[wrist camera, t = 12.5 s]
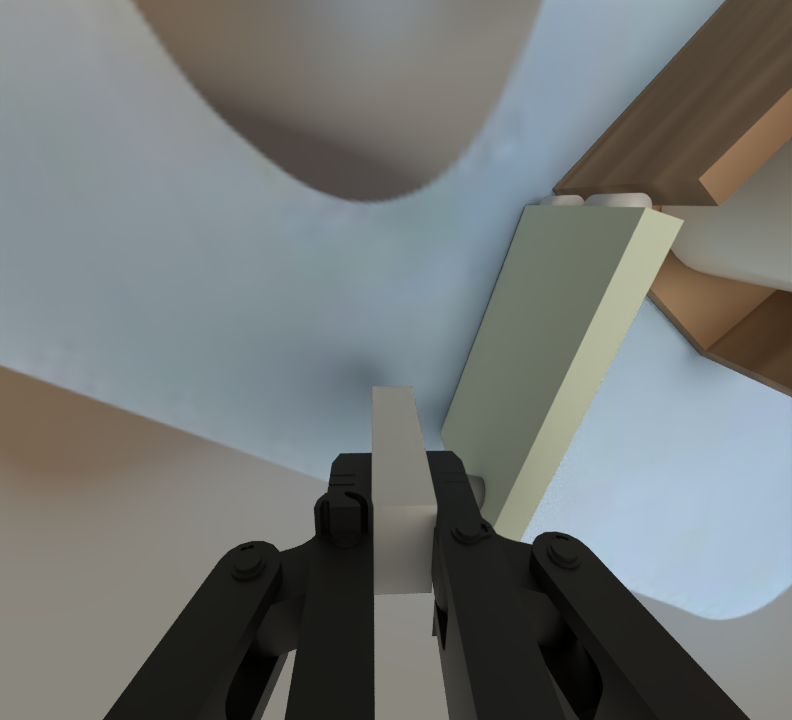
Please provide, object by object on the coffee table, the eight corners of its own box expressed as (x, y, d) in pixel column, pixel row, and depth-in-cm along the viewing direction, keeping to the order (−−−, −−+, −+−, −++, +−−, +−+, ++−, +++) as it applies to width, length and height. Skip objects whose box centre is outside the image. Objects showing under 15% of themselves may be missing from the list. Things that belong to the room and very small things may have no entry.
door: (506, 184, 18) (616, 170, 10) (553, 200, 19) (695, 199, 11) (420, 429, 23) (447, 554, 15) (459, 437, 23) (507, 565, 15)
